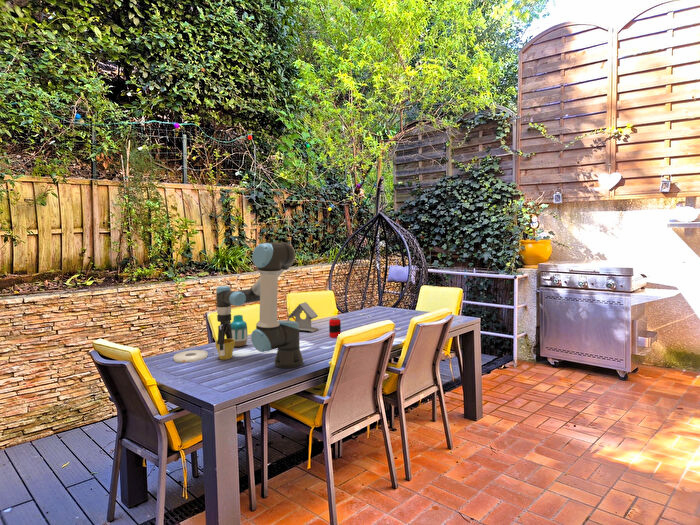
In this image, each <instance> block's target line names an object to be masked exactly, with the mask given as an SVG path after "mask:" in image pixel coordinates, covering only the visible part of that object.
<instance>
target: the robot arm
mask: <svg viewBox="0 0 700 525" xmlns="http://www.w3.org/2000/svg"><path fill="white" fill-rule="evenodd" d="M251 259H252V262H253V264H254V266H255V267H256V270H257V272H259V274H260V275H259V278H258V279H257V280H256V281H255V282H254V284H253V285H252V286H251V287H250V288H249V289H241V290H231V287H230V286H229V285H221V286H217V287H216V293H215V297H216V309H215V310H217V311H216V313H217V315H216V317H217V318H216V320H217V322H220V324H219V325H218V327H217V328H218V330H217V331H218V332H217V340H218V343H217V344H219V352H220V356H225V344H224V339H232V338H233V337H232V331H231V323H232V322H231V321H232V306H235V307H236V306H238V307H239V306H240V307H241V306H243V305H245V304H250V303H255V302H256V303H258V302H259V321H258V322H256V324H255V325H256V326H255V329H254V330H253V331H252V332H251V335H250V341H251V343H252V345H253V347H254V348H255V349H256V350H257V351H258V352H261V353H264V352H270V351H273V350H276V349H277V351H276V355H275V356H274V357H275V358H274V366H275V367H276V368H280V369H293V368H299V367H301V366H303V365H304V357H303V355H302V351H301V349H300V331H301V330H300V329H299V324H298V322H296V321H295V320H286V319H284V320H278V290H279V288H278V287H279V284H278V283H279V277H280V276H281V275H282V273H283V272H284V271H287V270H289V269H290V267H292V265H293V264H294V262H295V260H296V251H295V249H294V247H293V246H292V245H291V244H290V243H287V242H265V243H259V244H257V246H255V248H254V250H253V252H252V257H251Z"/></svg>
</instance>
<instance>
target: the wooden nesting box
mask: <svg viewBox="0 0 700 525" xmlns="http://www.w3.org/2000/svg"><path fill="white" fill-rule="evenodd" d="M302 313H305V318H301V314H302ZM287 317H288V318H289V319H292V318H294V319H295V320H294V321H296V322H298V324H299V329H300V330H299V331H309V334H312V333H315V332H317V331H318V329H319V328H318V327H312V320H313V319H316V318H318V314H317V313H316V311H314V309H313V308H312V307H311V306H310V305H309V304H308V302H307V301H305V302H302V303H299V304H298V305H297V306H296V307H295V308H294V310H293V311H292V312H291V313H290V314H289V315H288V316H287ZM311 332H312V333H311Z"/></svg>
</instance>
